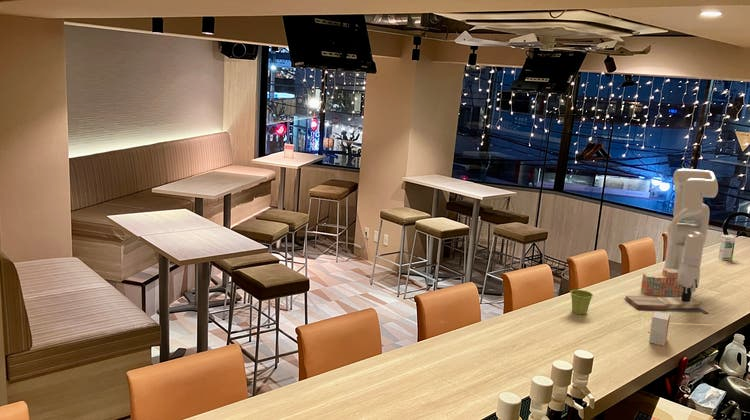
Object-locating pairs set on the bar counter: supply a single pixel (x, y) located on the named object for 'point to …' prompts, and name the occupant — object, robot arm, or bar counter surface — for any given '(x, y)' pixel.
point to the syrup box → (726, 247)
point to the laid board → (646, 302)
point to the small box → (659, 328)
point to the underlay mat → (678, 310)
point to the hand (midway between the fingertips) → (685, 301)
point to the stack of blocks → (662, 283)
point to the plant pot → (580, 301)
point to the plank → (678, 302)
